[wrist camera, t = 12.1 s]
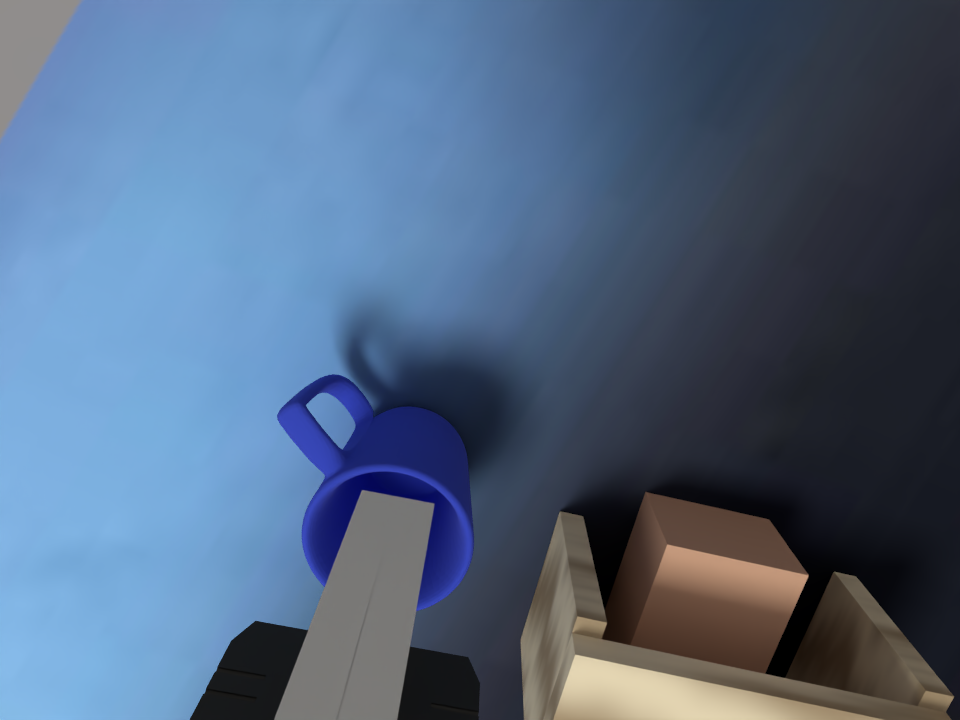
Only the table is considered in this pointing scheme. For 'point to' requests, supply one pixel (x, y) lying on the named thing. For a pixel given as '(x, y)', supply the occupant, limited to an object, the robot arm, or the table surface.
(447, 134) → the table surface
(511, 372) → the table surface
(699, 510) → the tan brown block
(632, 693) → the shelf nook
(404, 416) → the mug
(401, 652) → the robot arm
